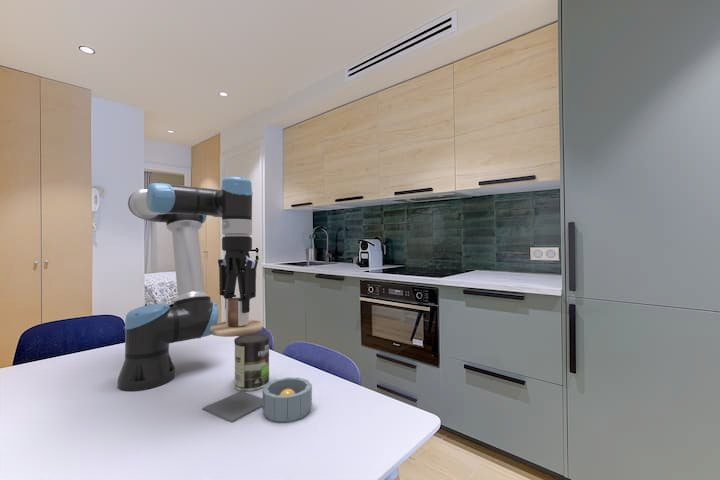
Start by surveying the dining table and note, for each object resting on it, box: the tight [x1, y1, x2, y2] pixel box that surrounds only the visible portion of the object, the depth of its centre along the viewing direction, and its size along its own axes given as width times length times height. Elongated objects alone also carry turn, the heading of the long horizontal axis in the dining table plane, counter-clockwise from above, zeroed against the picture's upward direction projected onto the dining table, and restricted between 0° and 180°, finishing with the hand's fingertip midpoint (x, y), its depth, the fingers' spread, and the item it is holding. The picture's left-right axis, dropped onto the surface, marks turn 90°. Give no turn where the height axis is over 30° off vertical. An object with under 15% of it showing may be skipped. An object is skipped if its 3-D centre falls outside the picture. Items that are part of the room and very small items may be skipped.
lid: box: [210, 297, 263, 338], centre depth 88 cm, size 13×13×8 cm
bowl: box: [262, 376, 313, 424], centre depth 85 cm, size 12×12×6 cm
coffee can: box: [234, 333, 270, 392], centre depth 102 cm, size 10×10×14 cm
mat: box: [202, 390, 263, 423], centre depth 88 cm, size 12×12×1 cm
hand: (237, 323), depth 88 cm, fingers closed on lid, 4 cm apart
